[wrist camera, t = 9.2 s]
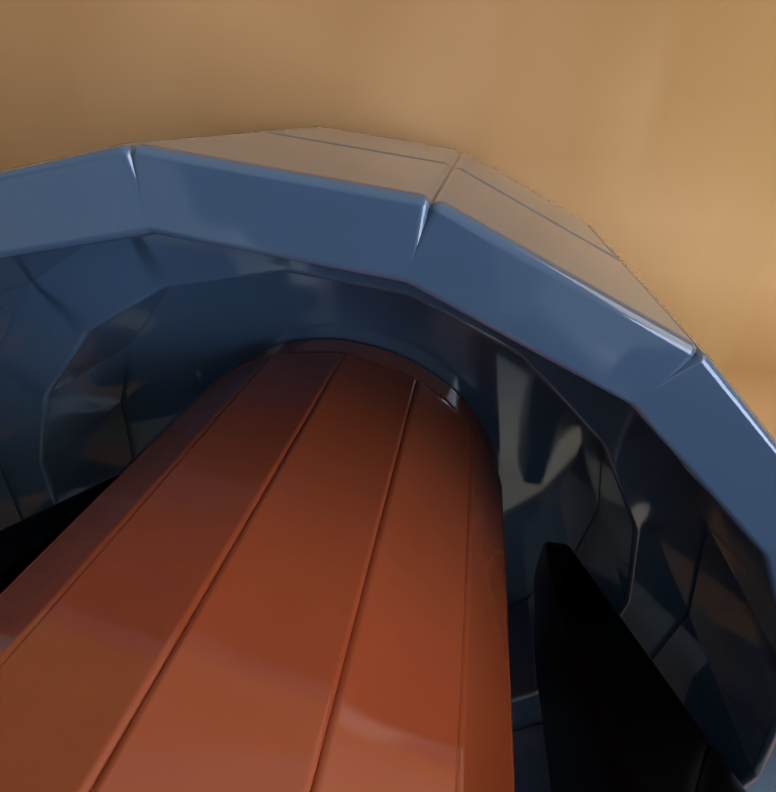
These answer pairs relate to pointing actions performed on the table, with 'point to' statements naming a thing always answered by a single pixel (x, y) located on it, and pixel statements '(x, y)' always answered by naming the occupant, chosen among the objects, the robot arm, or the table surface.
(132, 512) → the pot
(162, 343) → the bowl
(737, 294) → the table surface
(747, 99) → the table surface
